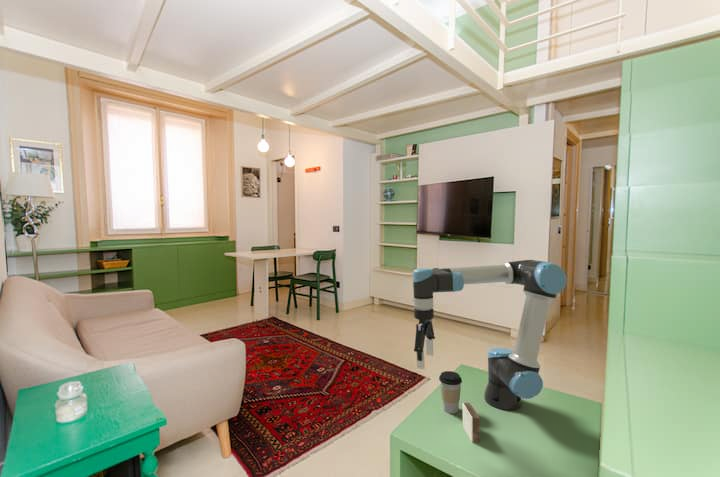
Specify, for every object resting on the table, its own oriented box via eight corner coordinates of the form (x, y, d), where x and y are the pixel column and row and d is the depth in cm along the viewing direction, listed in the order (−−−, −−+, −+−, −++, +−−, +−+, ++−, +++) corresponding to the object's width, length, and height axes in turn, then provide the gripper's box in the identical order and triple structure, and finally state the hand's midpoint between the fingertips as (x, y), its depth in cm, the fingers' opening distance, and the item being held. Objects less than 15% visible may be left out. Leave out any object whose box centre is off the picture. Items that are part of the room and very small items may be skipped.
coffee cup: (459, 418, 130) (459, 382, 130) (436, 412, 135) (436, 377, 134) (464, 407, 138) (463, 372, 138) (442, 401, 143) (442, 368, 142)
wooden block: (470, 425, 125) (470, 402, 125) (480, 442, 116) (479, 417, 115) (462, 425, 125) (462, 403, 125) (471, 442, 115) (471, 417, 115)
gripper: (423, 300, 138) (424, 348, 139) (404, 315, 116) (406, 372, 117) (440, 301, 135) (442, 351, 135) (424, 317, 113) (426, 376, 113)
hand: (425, 361), depth 126 cm, fingers open, 13 cm apart
